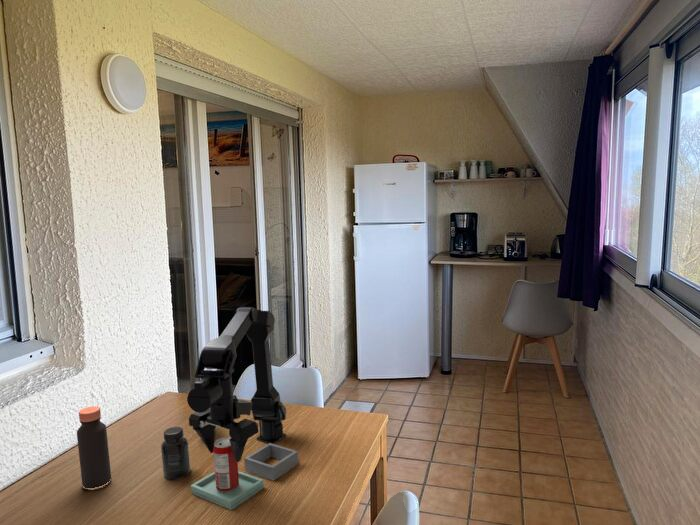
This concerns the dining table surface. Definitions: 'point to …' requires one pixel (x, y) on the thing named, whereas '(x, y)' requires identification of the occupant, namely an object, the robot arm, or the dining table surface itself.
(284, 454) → the frame
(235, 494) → the tray
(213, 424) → the robot arm
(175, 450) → the supplement bottle
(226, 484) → the soda can
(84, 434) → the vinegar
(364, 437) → the dining table surface
